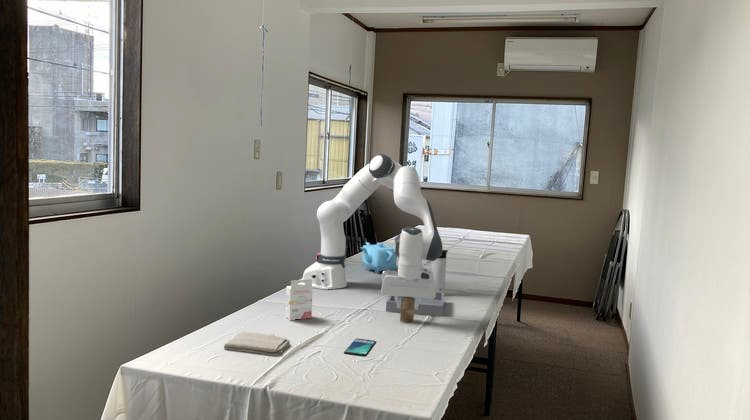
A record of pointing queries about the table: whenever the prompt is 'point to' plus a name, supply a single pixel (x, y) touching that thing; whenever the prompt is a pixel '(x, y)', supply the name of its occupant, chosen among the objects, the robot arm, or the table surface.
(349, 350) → the smartphone
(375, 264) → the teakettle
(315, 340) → the table surface
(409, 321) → the tan rounded cylinder
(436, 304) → the tray
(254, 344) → the washcloth
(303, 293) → the ink cartridge box
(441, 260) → the travel mug
